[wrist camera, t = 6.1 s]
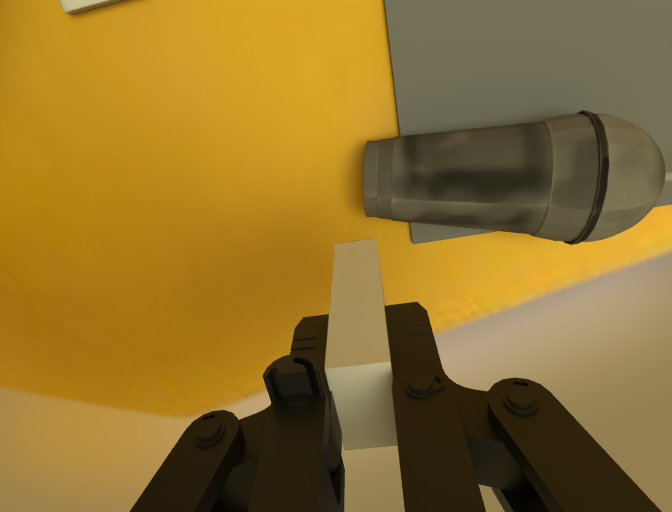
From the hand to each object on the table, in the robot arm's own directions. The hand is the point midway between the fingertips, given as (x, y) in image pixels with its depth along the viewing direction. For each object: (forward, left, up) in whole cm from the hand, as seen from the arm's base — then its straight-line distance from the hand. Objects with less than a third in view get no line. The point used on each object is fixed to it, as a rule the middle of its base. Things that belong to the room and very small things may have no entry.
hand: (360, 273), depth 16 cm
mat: (+13, +2, -14) cm, 19 cm away
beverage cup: (0, 0, -11) cm, 11 cm away
